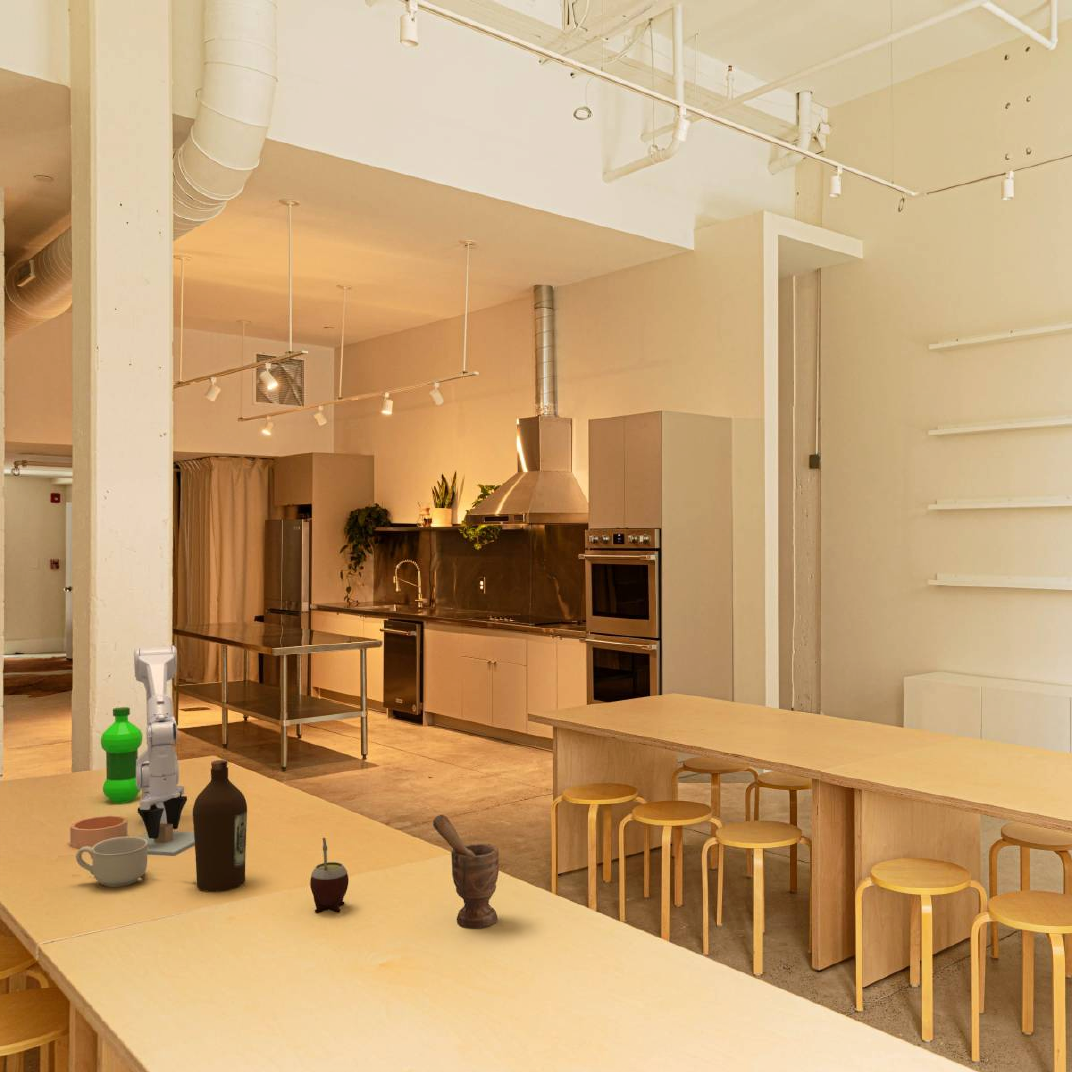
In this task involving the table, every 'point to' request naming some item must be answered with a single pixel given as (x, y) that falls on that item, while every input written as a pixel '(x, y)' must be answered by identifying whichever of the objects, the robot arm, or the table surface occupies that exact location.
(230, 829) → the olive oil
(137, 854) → the teacup
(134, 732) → the plastic bottle
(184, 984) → the table surface
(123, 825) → the bowl
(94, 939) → the table surface
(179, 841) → the lid
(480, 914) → the mortar and pestle
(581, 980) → the table surface
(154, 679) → the robot arm
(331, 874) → the mate gourd
